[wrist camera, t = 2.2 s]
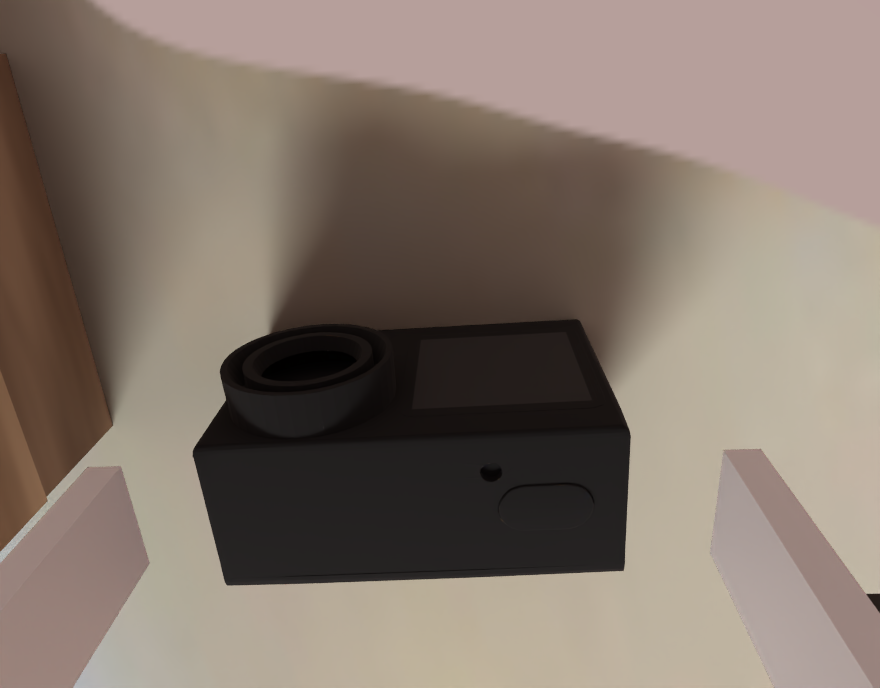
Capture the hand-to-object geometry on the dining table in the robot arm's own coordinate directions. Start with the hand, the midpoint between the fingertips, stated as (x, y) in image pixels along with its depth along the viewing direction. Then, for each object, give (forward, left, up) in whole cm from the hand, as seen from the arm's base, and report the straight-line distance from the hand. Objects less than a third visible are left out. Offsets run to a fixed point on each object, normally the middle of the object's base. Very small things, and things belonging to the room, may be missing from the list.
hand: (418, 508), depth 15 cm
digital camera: (0, 0, -8) cm, 8 cm away
